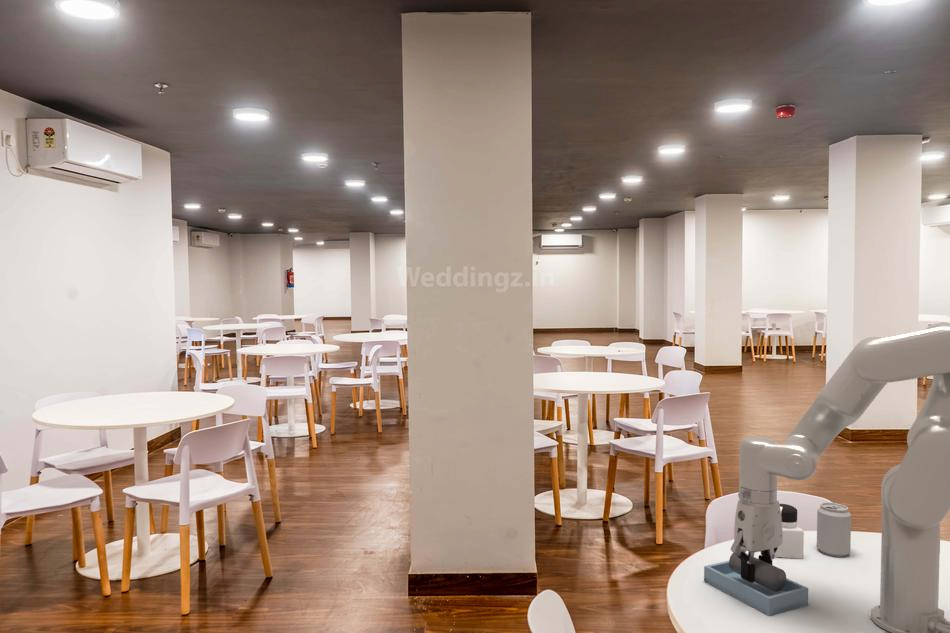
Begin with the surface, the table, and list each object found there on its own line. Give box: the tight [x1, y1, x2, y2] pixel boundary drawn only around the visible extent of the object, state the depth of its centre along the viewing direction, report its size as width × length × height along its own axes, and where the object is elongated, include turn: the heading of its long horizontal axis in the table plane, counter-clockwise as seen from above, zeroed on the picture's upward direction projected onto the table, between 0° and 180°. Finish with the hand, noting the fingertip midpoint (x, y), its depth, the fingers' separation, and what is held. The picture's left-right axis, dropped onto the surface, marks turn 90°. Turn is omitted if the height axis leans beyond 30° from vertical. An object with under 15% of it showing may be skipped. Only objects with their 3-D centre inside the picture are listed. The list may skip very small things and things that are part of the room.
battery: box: [728, 552, 787, 592], centre depth 141 cm, size 12×5×5 cm, turn 25°
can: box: [816, 501, 852, 558], centre depth 164 cm, size 8×8×12 cm
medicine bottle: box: [775, 503, 805, 559], centre depth 163 cm, size 7×7×12 cm
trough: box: [703, 560, 809, 617], centre depth 141 cm, size 18×12×4 cm, turn 25°
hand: (756, 577), depth 141 cm, fingers closed on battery, 4 cm apart
